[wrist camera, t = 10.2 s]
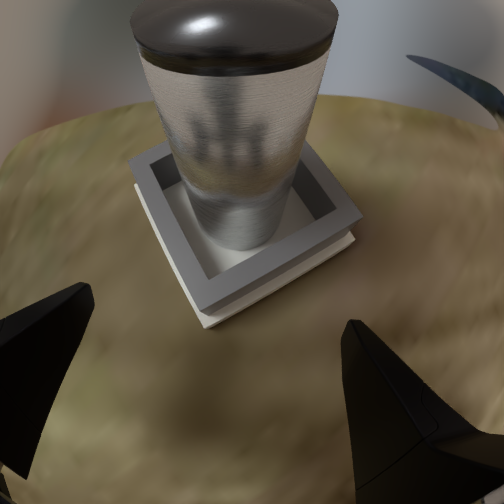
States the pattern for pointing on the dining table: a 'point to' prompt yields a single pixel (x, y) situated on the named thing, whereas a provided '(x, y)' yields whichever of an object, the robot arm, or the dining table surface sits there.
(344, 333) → the robot arm
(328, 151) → the dining table surface
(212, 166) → the black-capped silver cylinder
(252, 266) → the holder
